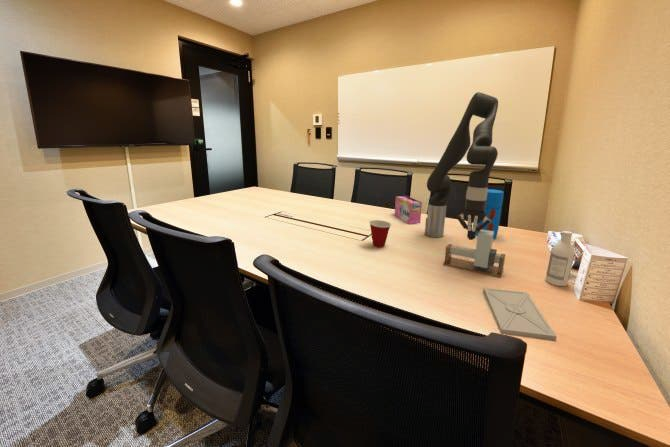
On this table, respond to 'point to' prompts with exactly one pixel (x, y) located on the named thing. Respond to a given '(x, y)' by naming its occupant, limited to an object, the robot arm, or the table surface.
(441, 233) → the robot arm
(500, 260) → the rail
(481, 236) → the pale grey rectangular block
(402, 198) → the pink cardboard box
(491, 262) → the gray brick
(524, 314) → the envelope
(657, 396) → the table surface
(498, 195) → the blue tall rounded block
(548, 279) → the bath foam
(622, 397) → the table surface
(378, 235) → the plastic cup
